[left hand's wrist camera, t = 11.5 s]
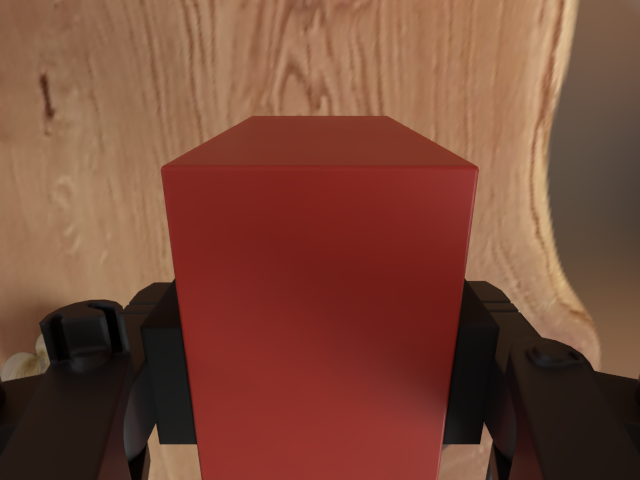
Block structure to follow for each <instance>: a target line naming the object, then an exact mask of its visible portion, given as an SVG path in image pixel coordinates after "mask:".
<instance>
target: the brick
mask: <svg viewBox="0 0 640 480" xmlns="http://www.w3.org/2000/svg"><path fill="white" fill-rule="evenodd" d="M478 172H479V169H478V167H477V166H476V165H474V164H472V163H470V162H468V161H467V160H465V159H463V158H461V157H460V156H458V155H456V154H454V153H452V152H451V151H449V150H447V149H445V148H443V147H442V146H440V145H438V144H436V143H435V142H433V141H431V140H429V139H427V138H426V137H424V136H422V135H420V134H419V133H417V132H415V131H413V130H411V129H410V128H408V127H406V126H404V125H402V124H401V123H399V122H397V121H395V120H394V119H392V118H390V117H388V116H252V117H250V118H248V119H246V120H244V121H243V122H241V123H239V124H237V125H236V126H234V127H232V128H230V129H228V130H227V131H225V132H223V133H221V134H219V135H218V136H216V137H214V138H212V139H210V140H209V141H207V142H205V143H203V144H202V145H200V146H198V147H196V148H194V149H193V150H191V151H189V152H187V153H185V154H184V155H182V156H180V157H178V158H176V159H175V160H173V161H171V162H169V163H168V164H166V165H164V166H162V168H161V175H162V182H163V190H164V197H165V205H166V212H167V220H168V228H169V235H170V243H171V250H172V258H173V266H174V273H175V281H176V288H177V296H178V304H179V311H180V319H181V326H182V334H183V341H184V349H185V356H186V364H187V372H188V379H189V387H190V394H191V402H192V410H193V417H194V425H195V432H196V440H197V448H198V455H199V463H200V470H201V478H202V480H438V475H439V468H440V460H441V452H442V445H443V437H444V429H445V422H446V414H447V407H448V399H449V392H450V384H451V376H452V369H453V361H454V354H455V346H456V338H457V331H458V324H459V316H460V308H461V301H462V293H463V286H464V278H465V270H466V263H467V255H468V248H469V240H470V233H471V225H472V217H473V210H474V202H475V195H476V187H477V180H478Z"/></svg>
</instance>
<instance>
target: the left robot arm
mask: <svg viewBox="0 0 640 480" xmlns="http://www.w3.org/2000/svg"><path fill="white" fill-rule="evenodd" d="M39 324H40V327H41V331H42V335H43V339H44V342H45V346H46V350H47V354H48V357H49V361H50V365H49V367H48V368H47V370H46V372H45V373H43V374H39V375H34V376H29V377H24V378H18V379H13V380H8V381H3V382H2V380H1V377H0V480H148V475H149V468H150V453H149V447H148V442H147V441H148V439H149V437H150V434H151V432H152V430H153V428H154V426H155V424H156V425H157V431H158V437H159V443H160V444H197V440H196V432H195V425H194V417H193V410H192V402H191V394H190V387H189V379H188V372H187V364H186V356H185V349H184V341H183V334H182V326H181V319H180V311H179V304H178V296H177V288H176V281H175V279H174V280H173V282H172V283H153V284H151V285H149V286H148V287H146V288H144V289H142V290H141V291H139V292H138V293H137V294H136V295H135V297H134V298H133V299H132V300H131V301H130V302H129V305H127V306H126V307H125V308H124V310H123V307H122V306H121V305H120V304H118V303H117V302H115V301H110V300H88V301H83V302H77V303H74V304H71V305H68V306H65V307H62V308H59V309H58V310H56V311H54V312H52V313H50V314H48V315H47V316H46V317H45V318H44V319H43V320H42V321H41V322H40V323H39ZM484 422H485V424H486V427H487V429H488V431H489V433H490V435H491V437H492V439H493V442H492V447H491V453H490V458H489V464H488V469H487V474H486V480H640V375H639V379H638V380H637V379H632V378H627V377H621V376H616V375H611V374H606V373H601V372H597V371H594V369H593V368H592V366H591V364H590V362H589V361H588V360H587V359H586V358H585V357H584V355H583V354H581V353H580V352H578V351H577V350H575V349H574V348H572V347H571V346H568V345H566V344H563V343H561V342H558V341H556V340H551V339H547V338H542V337H541V336H540V335H539V334H538V333H537V331H536V330H535V329H534V328H533V327H532V326H531V324H530V323H529V322H528V321H527V320H526V319H525V317H524V316H523V315H522V314H521V313H520V312H518V309H517V308H516V307H515V306H514V304H513V303H511V301H510V300H509V299H508V297H507V296H506V295H505V294H504V293H503V292H502V290H500V289H498V288H497V287H495V286H493V285H491V284H490V283H488V282H486V281H466V279H465V278H464V286H463V293H462V301H461V308H460V316H459V324H458V331H457V338H456V346H455V354H454V361H453V369H452V376H451V384H450V392H449V399H448V407H447V414H446V422H445V429H444V437H443V444H480V441H481V435H482V429H483V424H484Z"/></svg>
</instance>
